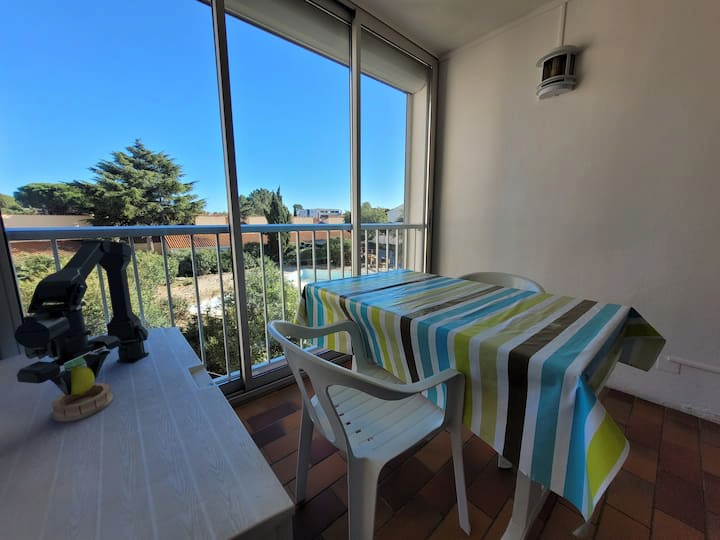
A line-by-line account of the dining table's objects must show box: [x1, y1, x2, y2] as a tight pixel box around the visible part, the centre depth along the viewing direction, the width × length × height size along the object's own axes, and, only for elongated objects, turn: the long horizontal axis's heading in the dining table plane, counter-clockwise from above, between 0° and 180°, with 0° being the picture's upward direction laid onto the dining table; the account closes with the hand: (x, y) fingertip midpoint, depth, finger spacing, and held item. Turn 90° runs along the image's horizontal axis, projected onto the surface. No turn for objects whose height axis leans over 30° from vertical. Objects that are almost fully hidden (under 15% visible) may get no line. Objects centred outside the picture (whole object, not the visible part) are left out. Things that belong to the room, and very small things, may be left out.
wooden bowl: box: [51, 382, 114, 423], centre depth 72 cm, size 11×11×3 cm
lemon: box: [68, 365, 96, 395], centre depth 71 cm, size 6×6×8 cm
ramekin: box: [52, 357, 86, 369], centre depth 94 cm, size 9×9×4 cm
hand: (81, 387), depth 72 cm, fingers closed on lemon, 5 cm apart
